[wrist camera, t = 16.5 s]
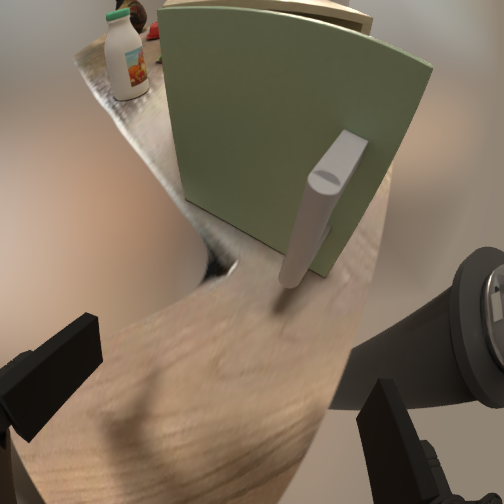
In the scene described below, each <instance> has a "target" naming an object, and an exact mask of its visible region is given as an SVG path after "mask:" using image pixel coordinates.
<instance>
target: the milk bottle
mask: <svg viewBox="0 0 504 504" xmlns="http://www.w3.org/2000/svg"><path fill="white" fill-rule="evenodd" d="M106 20H107V24H108V25H109V29H108V35H107V39H106V42H105V49H104V50H105V59H106V64H107V69H108V73H109V78H110V82H111V86H112V90H113V94H114V97H115V98H116V99H117V100H121V101H122V100H129V99H133V98H136V97H138V96H140V95H142V94H144V93H145V92H146V91H147V90H148V87H149V85H148V78H147V72H146V66H145V59H144V53H143V47H142V42H141V39H140V36H139V34H138V33H137V32H136V30H135V29H134V28H133V26H132V24H131V22H130V9H129V8H124V9H120V10H117V11H113V12H111V13H108V14H107V15H106Z"/></svg>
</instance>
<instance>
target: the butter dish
mask: <svg viewBox="0 0 504 504" xmlns="http://www.w3.org/2000/svg"><path fill="white" fill-rule="evenodd" d="M157 20H158V19H157ZM157 38H159V28H158V21H157V22H155V23H153V24H152V25H151V26H150V33H149V34H148V35H147V37H146V39H157Z"/></svg>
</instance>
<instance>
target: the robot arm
mask: <svg viewBox="0 0 504 504" xmlns="http://www.w3.org/2000/svg"><path fill="white" fill-rule="evenodd" d="M480 316H481V325H482V330H483V335H484V339H485V342H486V346H487V348H488V351H489V354H490V356H491V358H492V360H493V362H494V363H495V365H496V366H497V368H498V369H499V370H500V371H501V372H502V373H503V374H504V264H503V265H501V266H499V267H497V268H496V269H495V270H493V271H492V272H491V273H490V274H488V276H487V277H486V279H485V280H484V283H483V286H482V290H481V296H480ZM102 362H103V357H102V350H101V342H100V333H99V323H98V317H97V316H94V315H92V314H89V313H87V312H86V313H84V314H83V315H82V316H80V317H79V318H77V319H76V320H75V321H73V322H72V323H71V324H69V325H68V326H66V327H65V328H64V329H62V330H61V331H60V332H58V333H57V334H56V335H54V336H53V337H51V338H50V339H49V340H47V341H46V342H45V343H44V344H42V345H41V346H40V347H38V348H37V349H36V350H34V351H31V350H29V351H26V352H23V353H20V354H19V355H18V356H17V357H15V358H14V359H13V361H10V362H9V363H7V365H5V366H4V367H2V368H1V369H0V504H17V500H16V495H15V488H14V481H13V473H12V462H11V445H10V444H11V443H10V430H9V427H10V426H11V425H12V426H13V428H14V430H15V431H16V433H17V434H18V435H19V436H21V437H22V438H23V439H24V440H25V441H27V442H28V443H30V442H31V440H32V439H33V438H34V437H35V436H36V435H37V433H38V432H39V431H40V430H41V429H42V428H43V427H44V425H45V424H46V423H47V422H48V421H49V420H50V419H51V418H52V416H53V415H54V414H55V413H56V412H57V411H58V410H59V409H60V408H61V406H62V405H63V404H64V403H65V402H66V401H67V400H68V399H69V398H70V397H71V395H72V394H73V393H74V392H75V391H76V390H77V389H78V388H79V387H80V386H81V385H82V384H83V382H84V381H85V380H86V379H87V378H88V377H89V376H90V375H91V374H92V373H93V372H94V371H95V370H96V369H97V368H98V366H99V365H100V364H101V363H102ZM356 421H357V425H358V429H359V433H360V438H361V442H362V447H363V451H364V456H365V460H366V465H367V470H368V475H369V480H370V486H371V491H372V496H373V502H374V504H502V499H501V498H500V496H499V495H497V494H496V493H488V494H487V495H486V496H484V497H483V498H482V499H481V500H478V501H465V500H464V498H463V497H461V496H459V495H455V494H452V492H451V490H450V488H449V485H448V482H447V480H446V477H445V474H444V472H443V470H442V467H441V466H440V462H439V460H438V459H437V455H436V452H435V450H434V448H433V447H432V446H431V444H430V443H429V442H428V441H427V440H421V441H420V440H419V437H418V435H417V433H416V430H415V428H414V425H413V423H412V421H411V418H410V416H409V414H408V412H407V409H406V407H405V405H404V403H403V400H402V398H401V396H400V394H399V392H398V390H397V387H396V385H395V383H394V381H393V379H382V378H379V379H378V381H377V382H376V384H375V386H374V388H373V390H372V392H371V394H370V395H369V397H368V399H367V401H366V402H365V404H364V406H363V408H362V409H361V411H360V413H359V414H358V416H357V418H356Z"/></svg>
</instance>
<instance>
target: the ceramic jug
mask: <svg viewBox="0 0 504 504" xmlns="http://www.w3.org/2000/svg"><path fill="white" fill-rule="evenodd" d="M116 1H117V3H116V10H115V11H117V10H120V9H124V8H129V9H130V22H131V24H132V26H133V28H134V29H135V30H136V32H137V33H138V34H139V33H141V32H142V29H143V27H144V25H145V23H146V20H147V14H146V12H145V9H144V8H143V6H142V5H141V4H140V3H139V2H138V1H137V0H116Z"/></svg>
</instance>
